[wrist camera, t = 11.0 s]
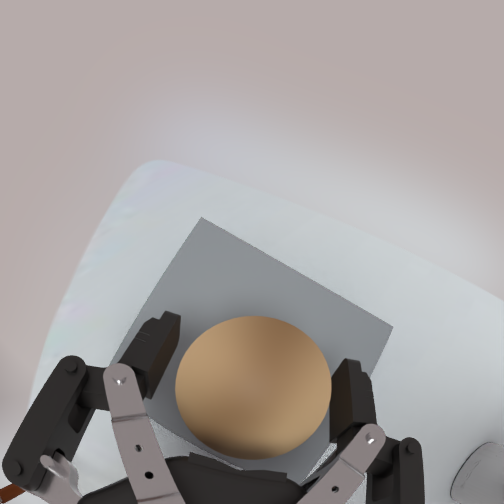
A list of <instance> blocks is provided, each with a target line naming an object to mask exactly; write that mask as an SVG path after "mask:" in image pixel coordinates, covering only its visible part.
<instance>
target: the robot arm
mask: <svg viewBox="0 0 504 504" xmlns="http://www.w3.org/2000/svg"><path fill="white" fill-rule="evenodd" d="M180 323H181V315H178V314H175V313H172V312H169V311H165V312H164V313H163V314H162V316H161V318H160V319H156V318H153V317H152V318H151V319H149V320H147V321H146V322H144V323H143V325H142V326H141V328H140V329H139V332H137V334H136V336H135V338H134V339H133V340H132V342H131V343H130V345H129V346H128V348H127V349H126V351H125V352H124V354H123V356H122V357H121V359H120V360H119V361H118V362H117V363H116V364H112V365H110V366H108V367H107V368H100V367H94V366H88V365H86V364H85V362H84V361H83V360H82V359H81V358H80V357H77V356H73V355H71V356H66V357H64V358H62V359H61V360H60V361H59V363H58V364H57V366H56V367H55V369H54V370H53V372H52V374H51V375H50V377H49V378H48V380H47V381H46V383H45V384H44V386H43V388H42V389H41V391H40V393H39V394H38V396H37V397H36V399H35V401H34V402H33V404H32V406H31V408H30V409H29V411H28V413H27V414H26V416H25V418H24V420H23V422H22V423H21V425H20V427H19V429H18V431H17V433H16V435H15V436H14V438H13V440H12V442H11V444H10V446H9V448H8V450H7V453H6V454H5V457H4V459H3V462H2V468H3V472H4V474H5V476H6V477H7V479H8V480H9V481H10V482H12V483H13V484H15V485H17V486H19V487H20V488H22V489H23V490H25V491H27V492H29V493H31V494H33V495H36V496H38V497H40V498H42V499H43V500H45V501H46V502H48V503H49V504H345V503H346V502H347V500H348V499H349V498H350V497H351V496H352V494H353V493H354V492H355V491H356V489H357V488H358V487H359V485H360V484H361V483H362V481H363V480H364V478H365V476H364V473H365V472H367V489H366V504H425V492H424V472H423V459H422V449H421V445H420V443H419V442H418V441H417V440H416V439H414V438H411V437H408V438H405V439H403V440H402V441H398V440H395V439H392V438H389V437H387V436H385V433H384V431H383V429H382V428H381V427H380V426H378V425H377V420H376V412H375V404H374V399H373V391H372V383H371V380H370V378H369V376H368V374H367V373H366V372H362V368H361V363H360V361H359V360H353V359H348V358H345V359H343V361H342V362H341V364H340V365H339V367H338V368H337V370H336V371H335V372H334V374H333V375H332V377H331V398H330V403H329V443H337V449H335V450H334V451H333V453H332V454H331V455H330V456H329V457H328V458H327V459H326V460H325V461H324V462H323V463H322V464H321V466H320V467H319V468H318V469H317V470H316V471H315V472H314V473H313V474H312V475H310V476H309V477H308V478H307V479H305V480H304V481H303V482H302V483H301V484H300V485H299V484H297V483H296V482H294V481H292V480H290V479H288V478H287V473H284V472H276V471H270V470H236V469H234V468H232V467H230V466H227V465H225V464H223V463H221V462H219V461H217V460H215V459H212V458H209V457H205V456H201V455H198V454H195V453H191V452H190V455H189V457H187V456H177V457H170V458H166V459H164V457H163V455H162V452H161V450H160V447H159V444H158V442H157V439H156V437H155V434H154V431H153V428H152V425H151V423H150V420H149V417H148V415H147V413H146V410H145V407H144V404H143V400H144V398H145V397H146V398H148V399H152V397H153V395H154V393H155V391H156V389H157V387H158V385H159V383H160V381H161V379H162V376H163V374H164V372H165V370H166V368H167V366H168V364H169V362H170V360H171V358H172V356H173V354H174V352H175V350H176V348H177V345H178V342H179V337H180ZM96 409H100V410H106V411H110V413H111V417H112V420H111V421H112V426H113V430H114V434H115V438H116V441H117V445H118V448H119V451H120V454H121V458H122V461H123V464H124V467H125V470H126V472H127V475H128V477H126V478H124V479H122V480H120V481H117V482H115V483H113V484H110V485H108V486H106V487H103V488H101V489H98V490H96V491H93V492H90V493H88V494H86V495H84V496H82V495H81V493H80V492H79V489H78V472H77V469H76V468H75V466H74V465H73V464H72V463H71V462H72V459H73V457H74V455H75V453H76V450H77V448H78V446H79V444H80V441H81V439H82V437H83V435H84V433H85V430H86V428H87V426H88V424H89V422H90V420H91V418H92V416H93V414H94V412H95V410H96ZM451 497H452V499H453V500H455V501H457V502H458V503H460V504H504V446H503V445H499V444H495V443H491V442H490V443H486V444H484V445H482V446H481V447H480V448H478V449H477V450H476V451H475V452H474V453H473V454H472V455H471V456H470V457H469V459H468V460H467V461H466V463H465V464H464V465H463V467H462V468H461V470H460V471H459V473H458V475H457V477H456V479H455V481H454V483H453V486H452V490H451Z"/></svg>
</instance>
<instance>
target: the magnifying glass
mask: <svg viewBox="0 0 504 504" xmlns="http://www.w3.org/2000/svg"><path fill="white" fill-rule="evenodd" d="M24 492H25V490H23V489H22V488H20V487H19V486H17V485H15V484H13V483H12V484H10V485H8V486H6V487H4V488H2V489H0V502H1V503H6V502H7V501H9V500H11V499H13V498H15V497H17V496H18V495H20V494H22V493H24ZM1 503H0V504H1Z"/></svg>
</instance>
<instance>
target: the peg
mask: <svg viewBox="0 0 504 504" xmlns="http://www.w3.org/2000/svg"><path fill="white" fill-rule="evenodd" d="M175 393H176V401H177V405H178V409H179V412H180V414H181V417H182V419H183V420H184V422H185V424H186V426H187V427H188V428H189V430H190V431H191V432H192V433H193V434H194V436H195V437H196V438H197V439H198V440H200V441H201V442H202V443H203V444H205V445H206V446H208V447H209V448H211V449H213V450H214V451H216V452H219V453H221V454H223V455H226V456H229V457H233V458H238V459H245V460H259V459H267V458H272V457H276V456H279V455H282V454H285V453H287V452H289V451H291V450H293V449H295V448H296V447H298V446H299V445H301V444H302V443H303V442H305V441H306V440H307V439H308V438H309V437H310V436H311V435H312V434H313V433H314V432H315V431H316V429H317V428H318V427H319V425H320V424H321V422H322V420H323V419H324V417H325V414H326V412H327V409H328V407H329V403H330V398H331V376H330V371H329V368H328V365H327V362H326V360H325V357H324V355H323V353H322V352H321V350H320V349H319V347H318V346H317V345H316V344H315V342H314V341H313V340H312V339H311V338H310V337H309V336H308V335H306V334H305V333H304V332H303V331H301V330H300V329H298V328H297V327H295V326H293V325H291V324H289V323H287V322H285V321H281V320H278V319H275V318H270V317H265V316H244V317H238V318H233V319H230V320H227V321H224V322H222V323H219V324H217V325H215V326H213V327H212V328H210V329H208V330H207V331H205V332H204V333H203V334H202V335H200V336H199V337H198V338H197V339H196V340H195V341H194V342H193V343H192V344H191V346H190V347H189V348H188V350H187V351H186V353H185V355H184V356H183V358H182V360H181V362H180V365H179V368H178V371H177V376H176V384H175Z"/></svg>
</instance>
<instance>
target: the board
mask: <svg viewBox="0 0 504 504" xmlns="http://www.w3.org/2000/svg"><path fill="white" fill-rule="evenodd" d="M165 311H169V312H172V313H175V314H178V315H181V323H180V337H179V342H178V345H177V348H176V350H175V352H174V354H173V356H172V358H171V360H170V362H169V364H168V366H167V368H166V370H165V372H164V374H163V376H162V379H161V381H160V383H159V385H158V387H157V389H156V391H155V393H154V395H153V397H152V399H148V398H146V397H145V398H144V400H143V404H144V407H145V410H146V413H147V415H148V417H150V418H151V419H153V420H154V421H156V422H157V423H159V424H160V425H162V426H163V427H165V428H166V429H168V430H170V431H171V432H173V433H175V434H176V435H178V436H180V437H181V438H183V439H185V440H187V441H188V442H190V443H192V444H194V445H196V446H197V447H199V448H201V449H203V450H205V451H207V452H209V453H211V454H213V455H215V456H217V457H219V458H221V459H223V460H225V461H227V462H229V463H231V464H233V465H236V466H238V467H240V468H242V469H245V470H270V471H276V472H284V473H287V478H288V479H290V480H292V481H294V482H296V483H297V484H299V485H300V484H301V483H302V481H303V480H304V479H305V478H306V476H307V475H308V474H309V472H310V471H311V470H312V469H313V467H314V466H315V465H316V463H317V462H318V460H319V459H320V458H321V456H322V455H323V453H324V452H325V451H326V449H327V448H328V446H329V445H330V443H329V407H328V409H327V412H326V414H325V417H324V419H323V420H322V422H321V424H320V425H319V427H318V428H317V429H316V431H315V432H314V433H313V434H312V435H311V436H310V437H309V438H308V439H307V440H306V441H305V442H303V443H302V444H301V445H299V446H298V447H296V448H295V449H293V450H291V451H289V452H287V453H285V454H282V455H279V456H276V457H272V458H267V459H259V460H245V459H238V458H233V457H229V456H226V455H223V454H221V453H219V452H216V451H214V450H213V449H211V448H209V447H208V446H206V445H205V444H203V443H202V442H201V441H200V440H198V439H197V438H196V437H195V436H194V434H193V433H192V432H191V431H190V430H189V428H188V427H187V426H186V424H185V422H184V420H183V419H182V417H181V414H180V412H179V409H178V405H177V401H176V393H175V384H176V376H177V371H178V368H179V365H180V362H181V360H182V358H183V356H184V355H185V353H186V351H187V350H188V348H189V347H190V346H191V344H192V343H193V342H194V341H195V340H196V339H197V338H198V337H199V336H200V335H202V334H203V333H204V332H205V331H207V330H208V329H210V328H212V327H213V326H215V325H217V324H219V323H222V322H224V321H227V320H230V319H233V318H238V317H244V316H265V317H270V318H275V319H278V320H281V321H285V322H287V323H289V324H291V325H293V326H295V327H297V328H298V329H300V330H301V331H303V332H304V333H305V334H306V335H308V336H309V337H310V338H311V339H312V340H313V341H314V342H315V344H316V345H317V346H318V347H319V349H320V350H321V352H322V353H323V355H324V357H325V360H326V362H327V365H328V368H329V371H330V376H331V377H332V375H333V374H334V372H335V371H336V370H337V368H338V367H339V365H340V364H341V362H342V361H343V359H345V358H348V359H353V360H359V361H360V363H361V368H362V372H366V373H367V374H368V376H369V378H370V376H371V374H372V372H373V370H374V368H375V366H376V364H377V362H378V360H379V358H380V356H381V354H382V351H383V349H384V347H385V345H386V343H387V340H388V338H389V336H390V334H391V331H392V329H393V326H391V325H389V324H388V323H386V322H384V321H382V320H381V319H379V318H377V317H376V316H374V315H372V314H370V313H369V312H367V311H365V310H363V309H362V308H360V307H358V306H356V305H355V304H353V303H351V302H350V301H348V300H346V299H344V298H343V297H341V296H339V295H337V294H336V293H334V292H332V291H330V290H329V289H327V288H325V287H323V286H322V285H320V284H318V283H316V282H315V281H313V280H311V279H309V278H308V277H306V276H304V275H302V274H301V273H299V272H297V271H295V270H294V269H292V268H290V267H288V266H287V265H285V264H283V263H281V262H280V261H278V260H276V259H274V258H273V257H271V256H269V255H267V254H266V253H264V252H262V251H260V250H259V249H257V248H255V247H253V246H252V245H250V244H248V243H246V242H245V241H243V240H241V239H239V238H237V237H236V236H234V235H232V234H230V233H229V232H227V231H225V230H223V229H222V228H220V227H218V226H216V225H215V224H213V223H211V222H209V221H207V220H206V219H204V218H202V217H201V218H200V220H199V221H198V223H197V224H196V226H195V227H194V229H193V230H192V231H191V233H190V234H189V236H188V237H187V239H186V240H185V242H184V243H183V245H182V246H181V248H180V249H179V251H178V252H177V254H176V255H175V257H174V258H173V260H172V261H171V263H170V265H169V266H168V268H167V269H166V271H165V272H164V274H163V275H162V277H161V279H160V280H159V282H158V283H157V285H156V286H155V288H154V290H153V291H152V293H151V295H150V296H149V298H148V299H147V301H146V303H145V304H144V306H143V308H142V309H141V311H140V313H139V314H138V316H137V318H136V319H135V321H134V323H133V324H132V326H131V328H130V329H129V331H128V333H127V335H126V336H125V338H124V340H123V342H122V343H121V345H120V347H119V349H118V350H117V352H116V354H115V356H114V358H113V359H112V361H111V363H110V365H112V364H116V363H117V362H118V361H119V360H120V359H121V357H122V356H123V354H124V352H125V351H126V349H127V348H128V346H129V345H130V343H131V342H132V340H133V339H134V338H135V336H136V334H137V332H139V329H140V328H141V326H142V325H143V323H144V322H146V321H147V320H149V319H151V318H152V317H153V318H156V319H160V318H161V316H162V314H163V313H164V312H165ZM110 365H109V366H110Z"/></svg>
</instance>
